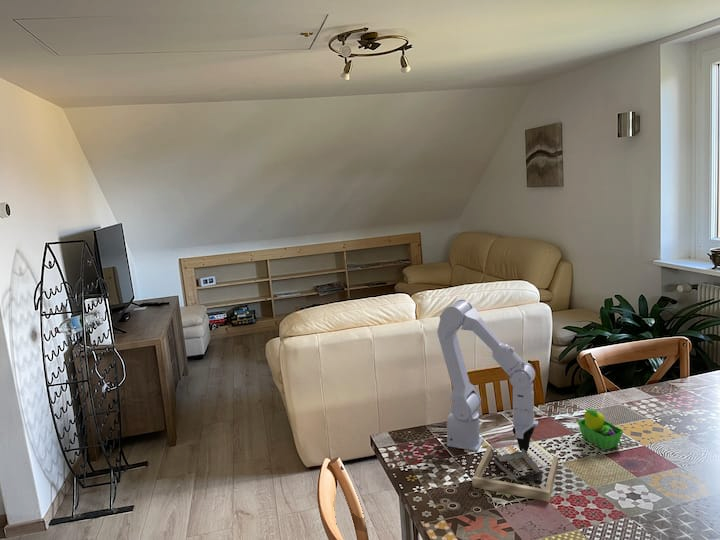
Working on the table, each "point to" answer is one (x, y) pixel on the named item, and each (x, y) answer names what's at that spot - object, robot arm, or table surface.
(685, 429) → the table surface
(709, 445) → the table surface
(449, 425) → the robot arm
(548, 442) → the table surface
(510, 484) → the frame
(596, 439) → the fruit basket
